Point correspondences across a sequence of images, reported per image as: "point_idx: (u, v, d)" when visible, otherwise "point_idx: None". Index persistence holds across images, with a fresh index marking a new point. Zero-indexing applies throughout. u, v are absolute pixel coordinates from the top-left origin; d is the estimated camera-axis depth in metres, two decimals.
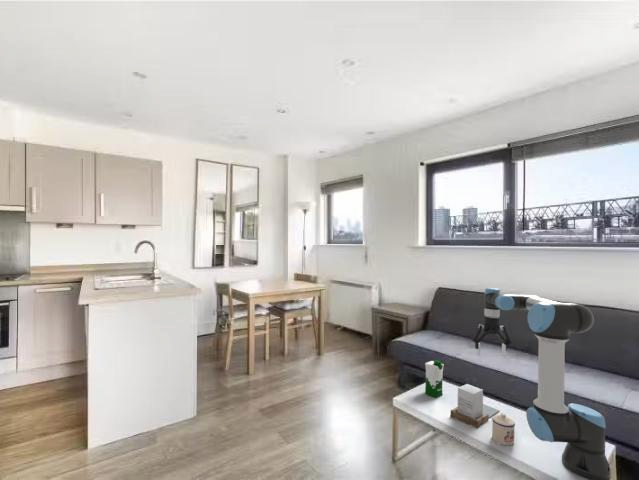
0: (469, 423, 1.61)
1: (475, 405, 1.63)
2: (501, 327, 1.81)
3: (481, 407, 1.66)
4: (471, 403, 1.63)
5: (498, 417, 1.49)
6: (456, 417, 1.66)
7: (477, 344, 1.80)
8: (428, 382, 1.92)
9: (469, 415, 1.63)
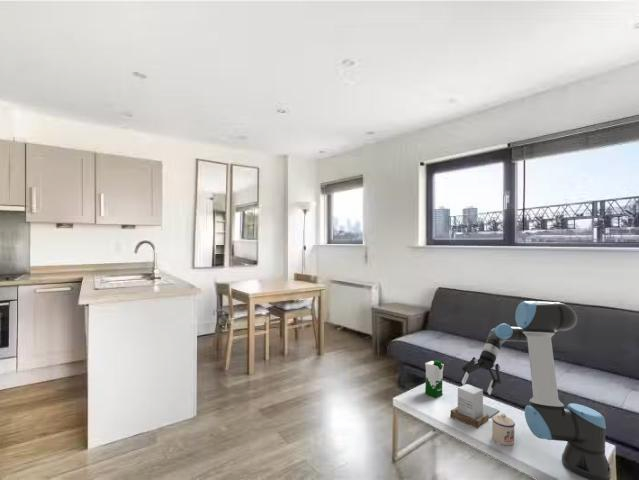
0: (469, 423, 1.61)
1: (475, 405, 1.63)
2: (495, 365, 1.75)
3: (481, 407, 1.66)
4: (471, 403, 1.63)
5: (498, 417, 1.49)
6: (456, 417, 1.66)
7: (464, 373, 1.81)
8: (428, 382, 1.92)
9: (469, 415, 1.63)
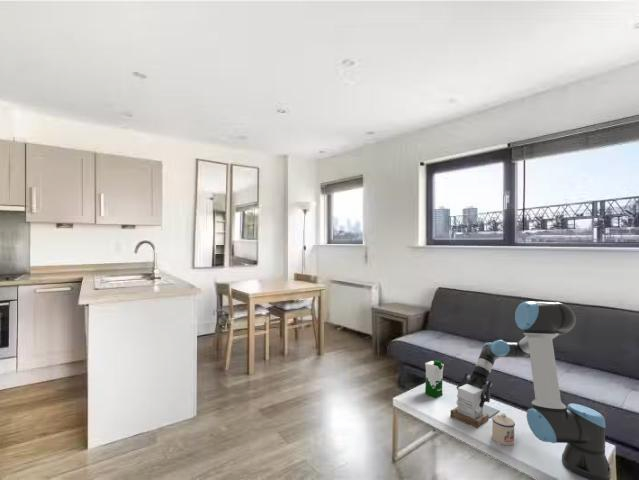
0: (469, 423, 1.61)
1: (475, 405, 1.63)
2: (488, 382, 1.69)
3: None
4: (471, 403, 1.63)
5: (498, 417, 1.49)
6: (456, 417, 1.66)
7: None
8: (428, 382, 1.92)
9: (469, 415, 1.63)
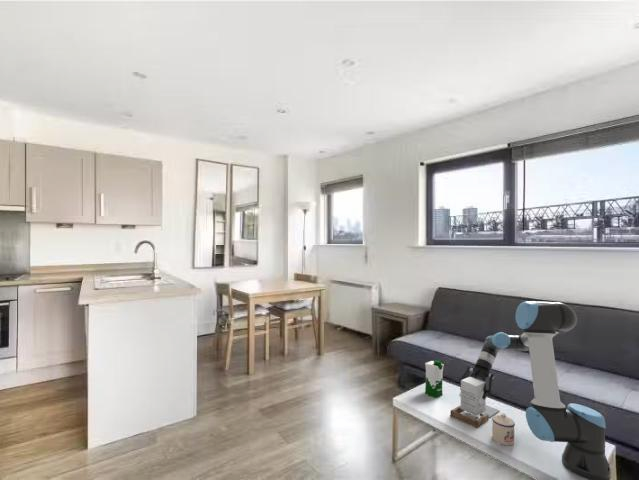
0: (469, 423, 1.61)
1: (478, 397, 1.65)
2: (490, 374, 1.72)
3: None
4: (474, 395, 1.65)
5: (498, 417, 1.49)
6: (456, 417, 1.66)
7: None
8: (428, 382, 1.92)
9: (472, 407, 1.66)
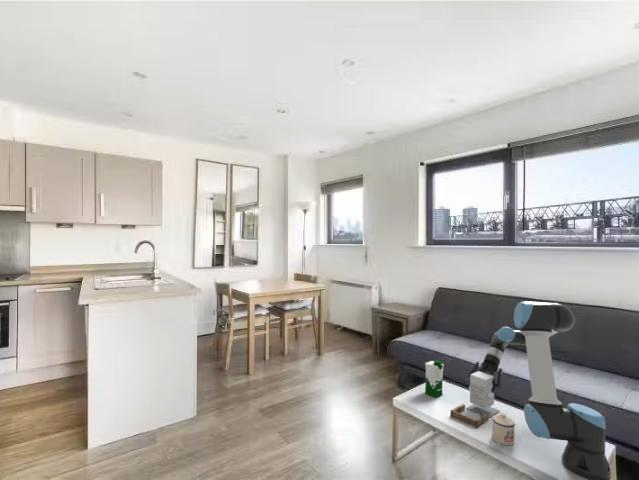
0: (469, 423, 1.61)
1: (487, 391, 1.71)
2: (499, 369, 1.77)
3: (493, 393, 1.74)
4: (483, 388, 1.71)
5: (498, 417, 1.49)
6: (456, 417, 1.66)
7: None
8: (428, 382, 1.92)
9: (481, 400, 1.71)
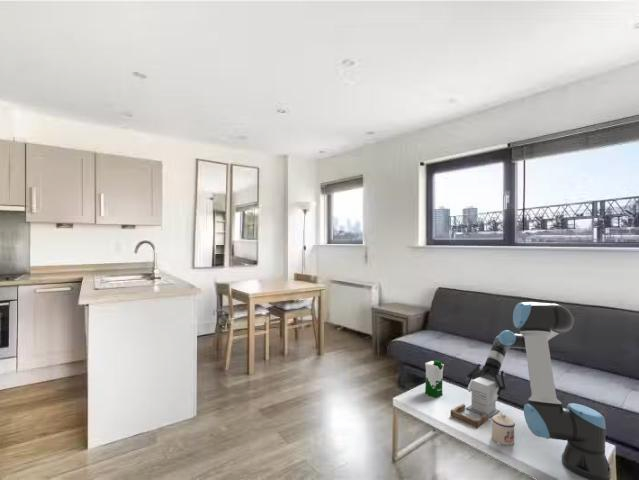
0: (469, 423, 1.61)
1: (489, 397, 1.71)
2: (500, 372, 1.78)
3: None
4: (485, 394, 1.71)
5: (498, 417, 1.49)
6: (456, 417, 1.66)
7: (470, 380, 1.83)
8: (428, 382, 1.92)
9: (483, 406, 1.72)
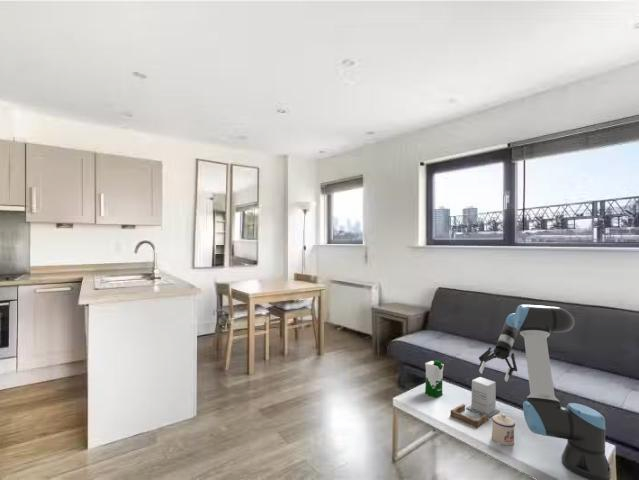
0: (469, 423, 1.61)
1: (489, 397, 1.71)
2: (511, 354, 1.86)
3: (494, 398, 1.74)
4: (485, 394, 1.71)
5: (498, 417, 1.49)
6: (456, 417, 1.66)
7: (481, 362, 1.92)
8: (428, 382, 1.92)
9: (483, 406, 1.72)
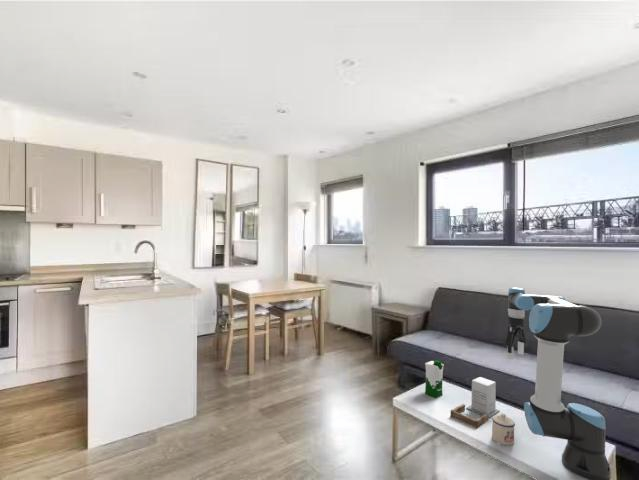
0: (469, 423, 1.61)
1: (489, 397, 1.71)
2: (520, 326, 1.81)
3: (494, 398, 1.74)
4: (485, 394, 1.71)
5: (498, 417, 1.49)
6: (456, 417, 1.66)
7: (511, 348, 1.72)
8: (428, 382, 1.92)
9: (483, 406, 1.72)
